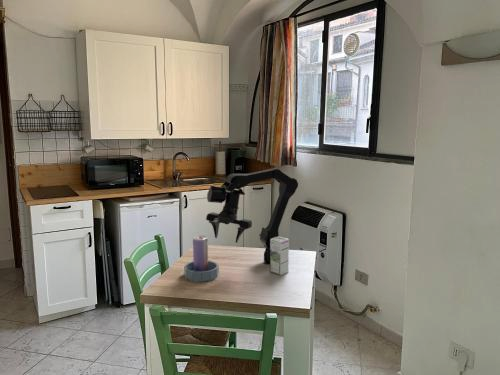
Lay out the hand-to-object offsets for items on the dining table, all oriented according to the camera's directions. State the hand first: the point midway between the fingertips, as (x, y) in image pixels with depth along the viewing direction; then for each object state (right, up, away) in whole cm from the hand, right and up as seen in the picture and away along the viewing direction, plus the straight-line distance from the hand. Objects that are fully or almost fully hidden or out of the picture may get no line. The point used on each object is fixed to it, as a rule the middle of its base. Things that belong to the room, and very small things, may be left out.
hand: (226, 240), depth 171 cm
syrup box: (+22, -13, -1) cm, 26 cm away
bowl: (-10, -14, -5) cm, 18 cm away
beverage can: (-10, -13, -6) cm, 17 cm away
